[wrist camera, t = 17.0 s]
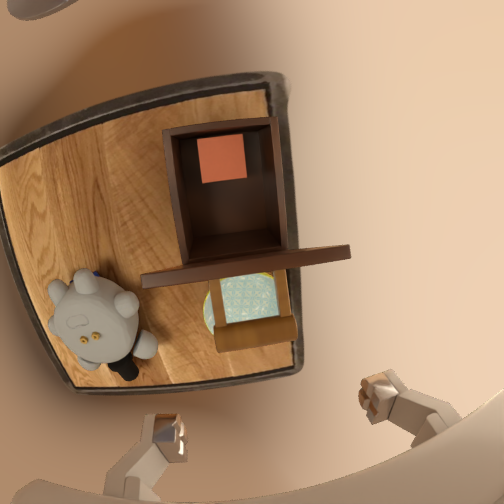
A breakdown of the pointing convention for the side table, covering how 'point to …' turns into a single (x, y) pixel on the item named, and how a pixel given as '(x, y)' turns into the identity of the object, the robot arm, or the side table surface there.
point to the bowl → (244, 299)
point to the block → (222, 158)
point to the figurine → (99, 323)
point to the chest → (227, 193)
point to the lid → (212, 271)
